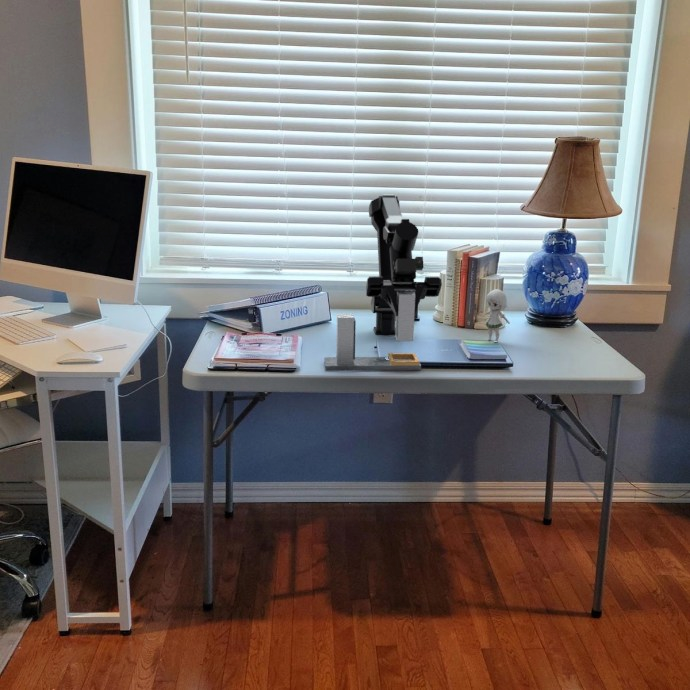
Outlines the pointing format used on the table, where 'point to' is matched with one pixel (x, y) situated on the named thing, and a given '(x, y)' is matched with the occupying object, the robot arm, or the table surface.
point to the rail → (350, 362)
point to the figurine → (495, 311)
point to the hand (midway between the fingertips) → (405, 315)
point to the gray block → (405, 316)
